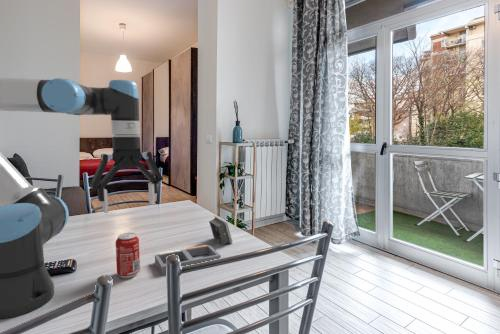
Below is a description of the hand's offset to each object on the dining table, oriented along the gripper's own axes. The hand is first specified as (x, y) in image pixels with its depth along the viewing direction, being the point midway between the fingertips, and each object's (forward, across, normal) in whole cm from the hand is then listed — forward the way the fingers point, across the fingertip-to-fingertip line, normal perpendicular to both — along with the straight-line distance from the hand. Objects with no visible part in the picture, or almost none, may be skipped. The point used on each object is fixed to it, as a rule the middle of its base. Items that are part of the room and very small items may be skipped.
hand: (129, 208), depth 92 cm
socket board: (+20, +16, -6) cm, 26 cm away
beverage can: (+20, -2, -2) cm, 20 cm away
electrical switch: (+20, +35, +3) cm, 40 cm away
